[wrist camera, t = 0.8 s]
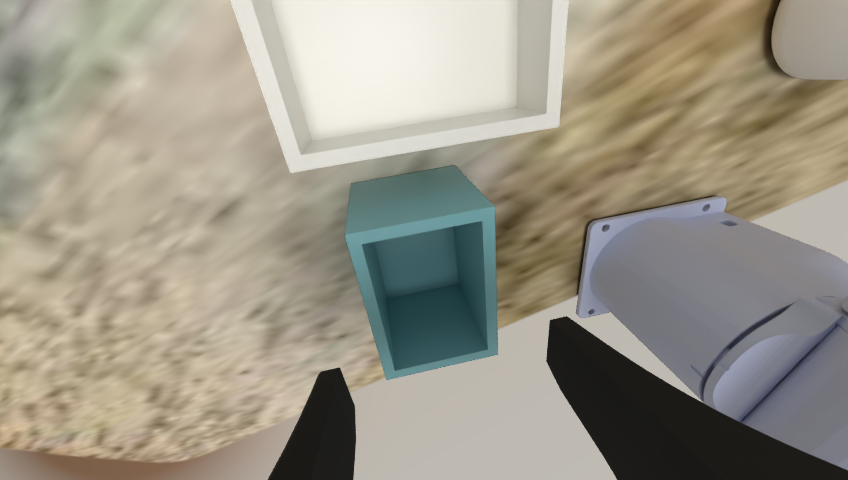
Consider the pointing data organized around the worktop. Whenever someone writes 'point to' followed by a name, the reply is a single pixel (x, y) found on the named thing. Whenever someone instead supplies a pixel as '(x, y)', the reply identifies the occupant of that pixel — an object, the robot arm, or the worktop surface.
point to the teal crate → (425, 268)
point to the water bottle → (812, 38)
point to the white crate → (403, 73)
